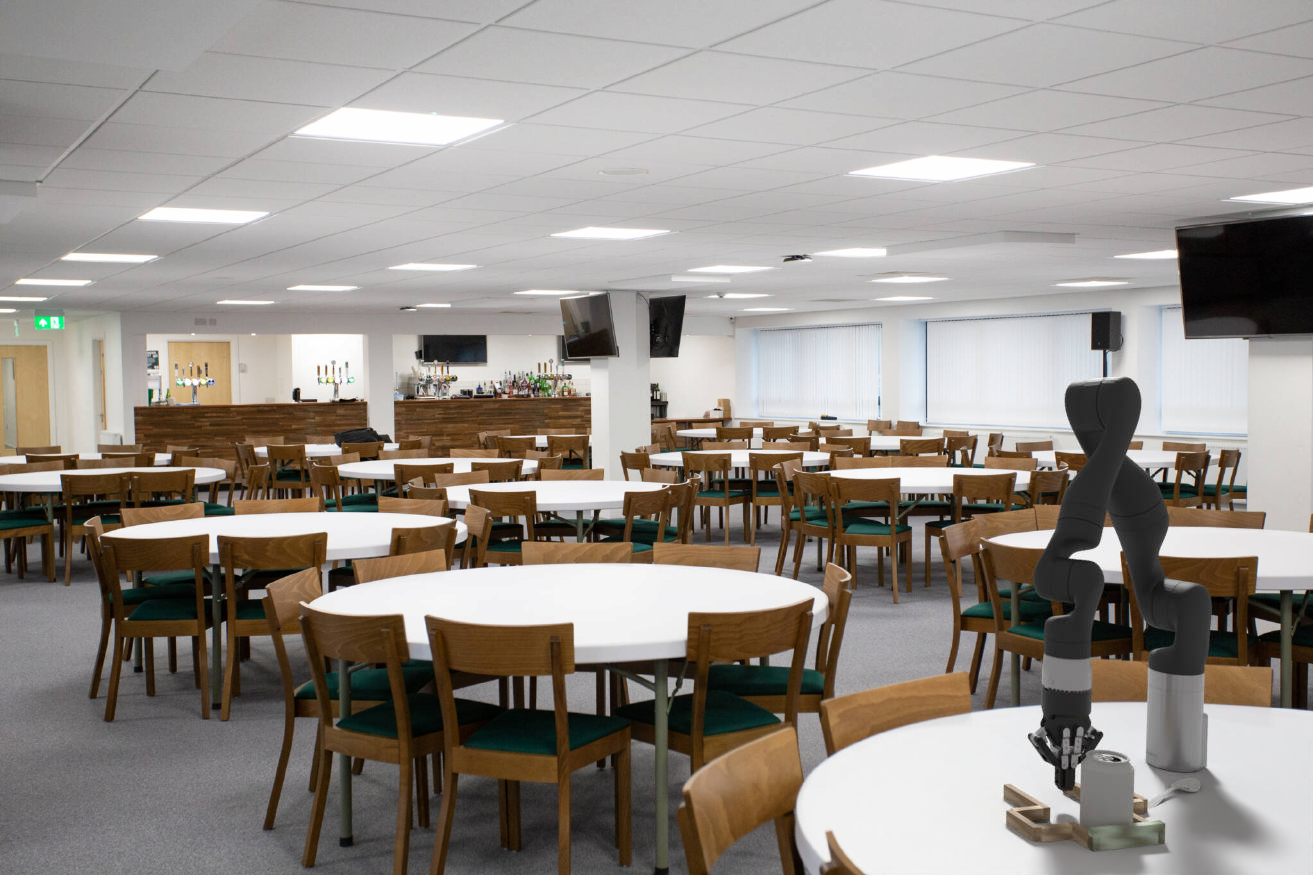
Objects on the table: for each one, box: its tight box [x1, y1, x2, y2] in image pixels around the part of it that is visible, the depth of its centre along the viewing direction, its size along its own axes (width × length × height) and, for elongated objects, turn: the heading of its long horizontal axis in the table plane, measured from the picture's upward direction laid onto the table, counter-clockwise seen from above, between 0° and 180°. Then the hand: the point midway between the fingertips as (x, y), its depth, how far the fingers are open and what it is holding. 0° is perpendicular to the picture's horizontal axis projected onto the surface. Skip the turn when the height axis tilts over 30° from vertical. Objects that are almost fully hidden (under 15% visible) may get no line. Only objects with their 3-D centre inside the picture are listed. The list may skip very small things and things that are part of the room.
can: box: [1079, 749, 1135, 830], centre depth 169 cm, size 8×8×12 cm
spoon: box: [1148, 777, 1201, 809], centre depth 185 cm, size 4×21×2 cm, turn 129°
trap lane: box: [1003, 781, 1166, 852], centre depth 175 cm, size 25×23×3 cm
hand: (1064, 789), depth 179 cm, fingers closed
